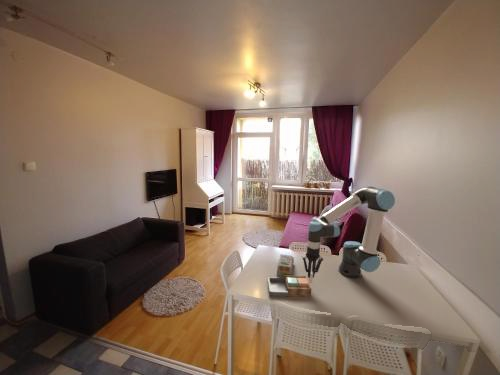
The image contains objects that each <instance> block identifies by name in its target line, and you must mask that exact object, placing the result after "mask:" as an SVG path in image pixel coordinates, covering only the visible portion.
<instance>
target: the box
mask: <svg viewBox="0 0 500 375" xmlns="http://www.w3.org/2000/svg"><path fill="white" fill-rule="evenodd" d="M284 280H285V278H284V277H277V276H267V288H268V295H269V297H276V298H277V297H283V298H285V297H286V298H289V296H288V291H287V290H286V286H285V282H284Z"/></svg>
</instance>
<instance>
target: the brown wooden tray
mask: <svg viewBox="0 0 500 375" xmlns="http://www.w3.org/2000/svg"><path fill="white" fill-rule="evenodd" d="M287 277H289V278H296V279H297V278H306V279H307V276H306V275H292V276H288V275H285V280H284V282H285V286H286V290H287V291H288V297H312V288H311V286H310V284H309V285H308V286H288V283H287Z"/></svg>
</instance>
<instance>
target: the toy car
mask: <svg viewBox="0 0 500 375" xmlns="http://www.w3.org/2000/svg"><path fill="white" fill-rule="evenodd" d="M294 259H295V258H294V256H293V255H289V254H280V257H279V259H278V264H277V269H276V277H284V278H285V275H288V276H293V270H294V263H295V260H294Z"/></svg>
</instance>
